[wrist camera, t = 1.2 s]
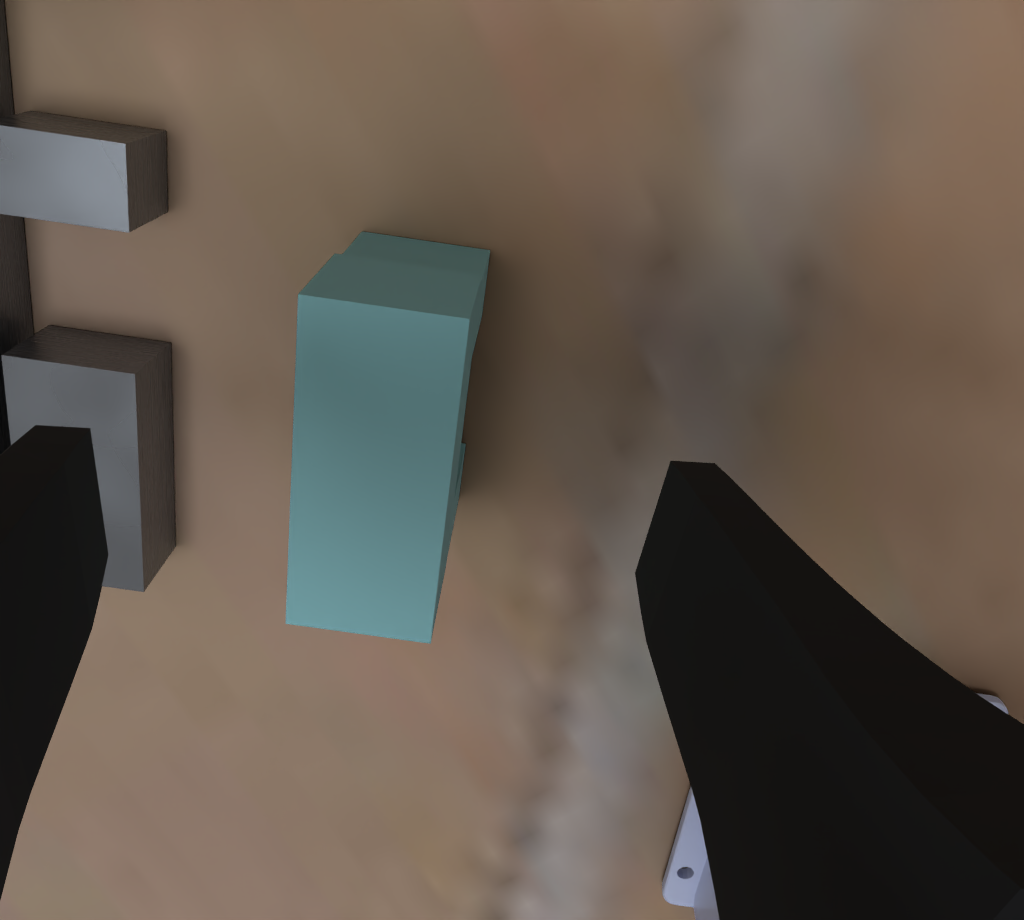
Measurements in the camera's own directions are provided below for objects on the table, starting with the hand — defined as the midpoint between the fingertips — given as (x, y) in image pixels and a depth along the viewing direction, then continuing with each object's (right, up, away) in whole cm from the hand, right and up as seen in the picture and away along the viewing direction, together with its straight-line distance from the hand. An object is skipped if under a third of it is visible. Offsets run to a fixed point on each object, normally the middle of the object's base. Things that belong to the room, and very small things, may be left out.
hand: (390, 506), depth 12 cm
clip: (-1, +3, +11) cm, 12 cm away
